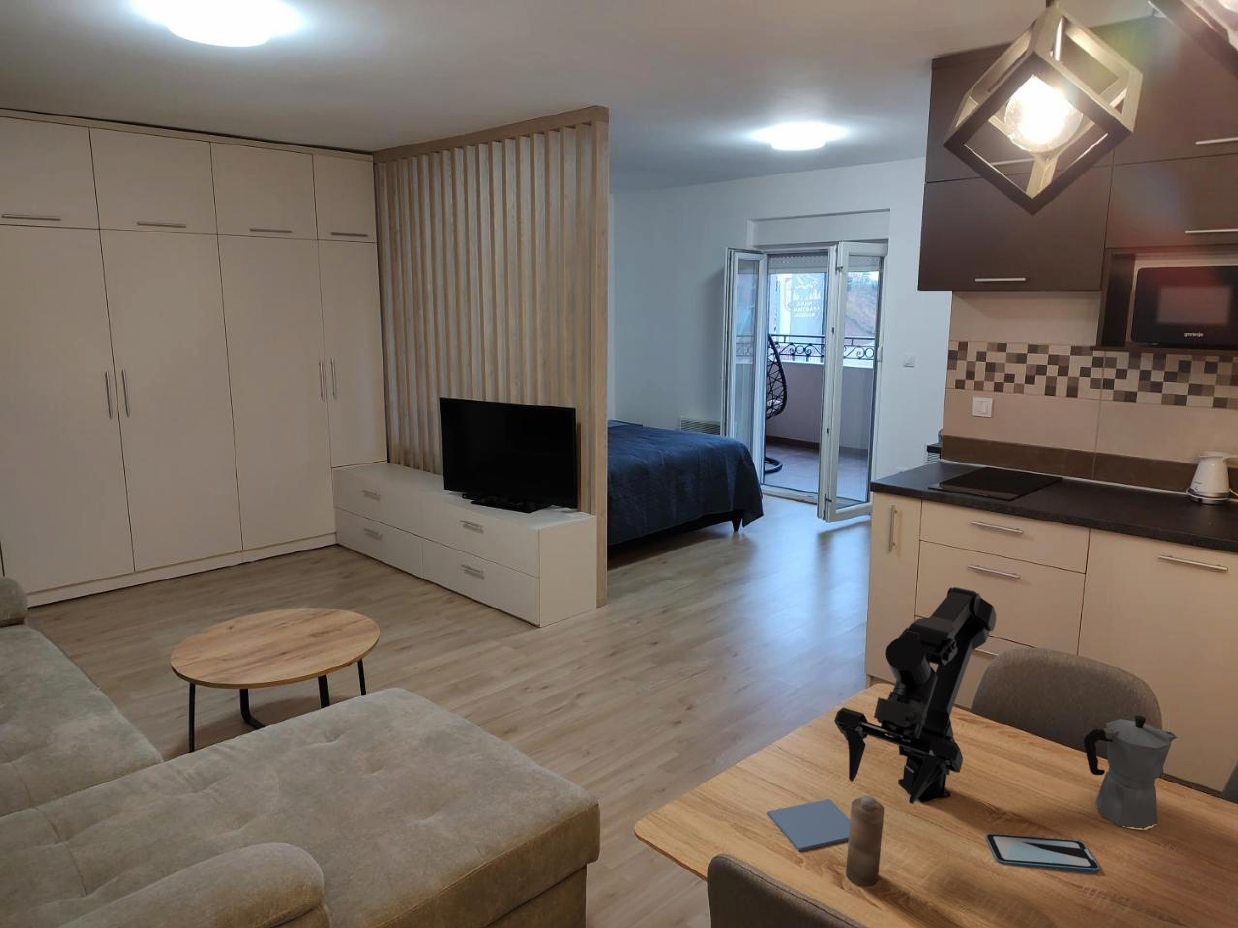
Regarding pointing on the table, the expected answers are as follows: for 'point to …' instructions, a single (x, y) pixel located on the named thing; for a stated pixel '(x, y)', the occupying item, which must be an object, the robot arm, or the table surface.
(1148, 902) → the table surface
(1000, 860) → the smartphone
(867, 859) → the pepper mill
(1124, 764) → the coffeepot
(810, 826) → the placemat
